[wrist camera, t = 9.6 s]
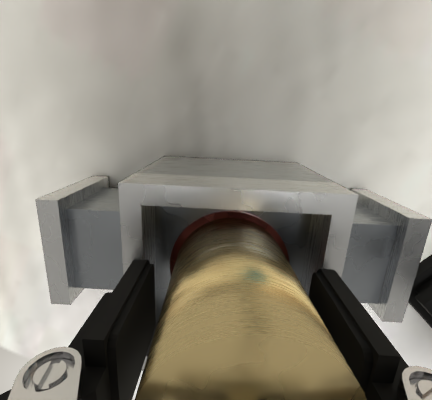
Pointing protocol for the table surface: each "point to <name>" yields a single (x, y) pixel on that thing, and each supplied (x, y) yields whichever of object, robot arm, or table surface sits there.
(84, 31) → the table surface
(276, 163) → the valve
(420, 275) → the chess piece
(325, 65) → the table surface
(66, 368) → the robot arm
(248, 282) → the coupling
